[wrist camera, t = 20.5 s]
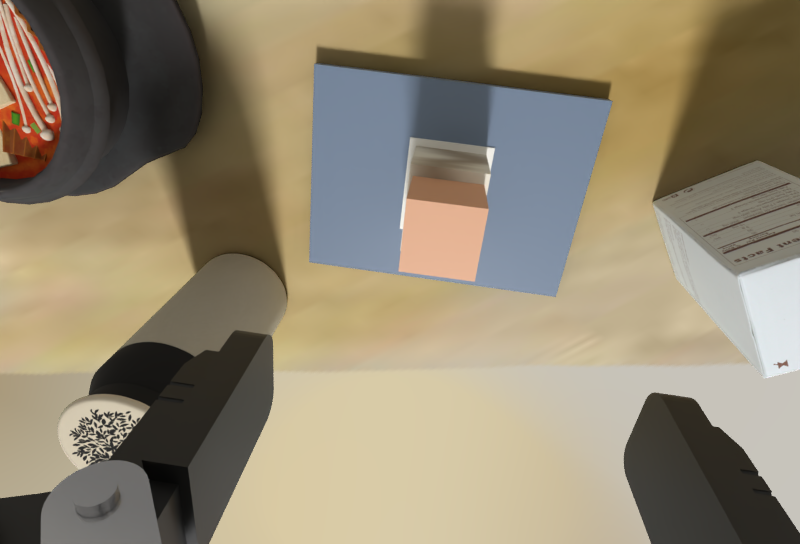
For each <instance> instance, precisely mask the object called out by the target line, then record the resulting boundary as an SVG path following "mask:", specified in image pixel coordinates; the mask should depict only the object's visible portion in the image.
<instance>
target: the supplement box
mask: <svg viewBox="0 0 800 544" xmlns="http://www.w3.org/2000/svg"><path fill="white" fill-rule="evenodd" d="M653 206H654V210H655V213H656V217H657V220H658V223H659V226H660V230H661V233H662V236H663V239H664V242H665V245H666V248H667V252H668V255H669V258H670V261H671V264H672V267H673V270H674V273H675V276H676V279H677V280H678V281H679V282H680V283H681V285H682V286H683V287H684V288H685V289H686V290H687V292H688V293H689V294H690V295H691V296H692V297H693V298H694V299H695V301H696V302H697V303H698V304H699V305H700V306H701V307H702V309H703V310H704V311H705V312H706V313H707V314H708V315H709V317H710V318H711V319H712V320H713V321H714V322H715V323H716V325H717V326H718V327H719V328H720V329H721V330H722V331H723V333H724V334H725V335H726V336H727V337H728V338H729V339H730V341H731V342H732V343H733V344H734V345H735V346H736V347H737V349H738V350H739V351H740V352H741V353H742V354H743V355H744V357H745V358H746V359H747V360H748V361H749V362H750V363H751V365H752V366H753V367H754V368H755V369H756V370H757V371H758V372H759V374H760V375H761V376H762V377H763V378H769V377H773V376H777V375H781V374H785V373H788V372H792V371H796V370H800V179H799V178H797V177H795V176H793V175H790V174H788V173H786V172H784V171H781V170H779V169H777V168H775V167H772V166H770V165H768V164H766V163H763V162H761V161H758V160H757V161H754V162H752V163H749V164H746V165H743V166H741V167H738V168H736V169H733V170H731V171H728V172H725V173H723V174H720V175H718V176H715V177H713V178H710V179H708V180H705V181H703V182H700V183H698V184H695V185H693V186H690V187H687V188H685V189H682V190H680V191H678V192H675V193H672V194H670V195H668V196H665V197H662V198H660V199H658V200H655V201H654V202H653Z"/></svg>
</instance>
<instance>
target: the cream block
mask: <svg viewBox="0 0 800 544" xmlns="http://www.w3.org/2000/svg"><path fill="white" fill-rule="evenodd" d="M413 176H419V177H427V178H435V179H443V180H451V181H459V182H466V183H474V184H482V185H485V191H486V196H487V192H488V187H489V182H490V177H491V172H490V168H489V164H488V160H487V155H484V154H476V153H469V152H461V151H453V150H446V149H438V148H431V147H423V146H416V148H415V151H414V154H413V157H412V161H411V164H410V172H409V181H408V189H407V195H408V191H409V188H410V184H411V180H412V177H413ZM406 199H407V198H406ZM405 208H406V206H405ZM404 217H405V214H404ZM403 226H404V223H403ZM402 235H403V231H402ZM401 244H402V240H401ZM400 251H401V248H400Z"/></svg>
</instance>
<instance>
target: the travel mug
mask: <svg viewBox="0 0 800 544" xmlns="http://www.w3.org/2000/svg"><path fill="white" fill-rule="evenodd" d="M286 307H287V296H286V292H285V289H284V286H283V284H282V282H281V280H280V279H279V277H278V276H277V275H276V273H275V272H274V271H273V270H272V269H271V268H270V267H268V266H267V265H266V264H264V263H263V262H261V261H259V260H257V259H255V258H253V257H250V256H247V255H243V254H224V255H220V256H217V257H215V258H213V259H212V260H210V261H209V262H208V263H206V264H205V265H204V266H203V267H202V268H201V269H200V270H199V271H198V272H197V273H196V274H195V275H194V276H193V277H192V278H191V279H190V280H189V281H188V282H187V283H186V284H185V285H184V286H183V287H182V288H181V289H180V290H179V291H178V292H177V293H176V294H175V295H174V296H173V297H172V298H171V299H170V300H169V301H168V302H167V303H166V304H165V305H164V306H163V307H162V308H161V309H160V310H158V311H157V312H156V313H155V314H154V315H153V316H152V317H151V318H150V319H149V320H148V321H147V322H146V323H145V324H144V325H143V326H142V327H141V328H140V329H139V330H138V331H137V332H136V333H135V334H134V335H133V336H132V337H131V338H130V339H129V340H128V341H127V342H126V343H125V344H124V345H123V346H122V347H121V348H120V349H119V350H118V351H117V352H116V353H115V354H114V355H113V356H112V357H111V358H110V359H109V360H107V361H106V362H105V363H104V364H103V365H102V366H101V367H100V368H99V369H98V371H97V372H96V373H95V375H94V377H93V379H92V381H91V385H90V391H89V395H88V396H85V397H82V398H79V399H78V400H75V401H74V402H72V403H71V404H69V405H68V406H67V407H66V408H65V409H64V411H63V412H62V414H61V416H60V418H59V421H58V438H59V441H60V444H61V446H62V449H63V451H64V452H65V454H66V455H67V457H68V458H69V459H70V461H71V462H72V463H73V464H74V465H75V466H76V467H77V468H78V469H79V470H80V469H82V468H84V467H87V466H89V465H92V464H95V463H99V462H104V461H108V460H109V458H110V457H111V456H112V455H113V454H114V452H115V451H116V450H117V448H118V447H119V446H120V445H121V443H122V442H123V441H124V440H125V438H126V437H127V436H128V434H129V433H130V432H131V431H132V429H133V428H134V427H135V426H136V424H137V423H138V422H139V421H140V419H141V418H142V417H143V415H144V414H145V413H146V412H147V410H148V409H149V408H150V407H151V405H152V404H153V403H154V401H155V400H158V398H159V395H160V394H161V393H162V391H163V390H164V389H165V388H166V386H167V385H170V382H171V380H172V379H173V377H174V376H175V375H176V374H177V372H178V371H179V370H180V368H181V367H182V366H183V365H184V363H186V362H188V361H189V360H191V359H192V358H194V357H195V356H197V355H199V354H200V353H202V352H203V351H205V350H211V351H218V352H219V351H220V349H221V348H222V346H223V345H224V344H225V342H226V341H227V339H228V338H229V337H230V335H231V334H232V333H233V332H234V331H235V330H240V331H247V332H254V333H261V334H267V335H271V337H272V335H273V333H274V332H275V330H276V328H277V326H278V325H279V323H280V321H281V319H282V318H283V316H284V314H285V311H286Z"/></svg>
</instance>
